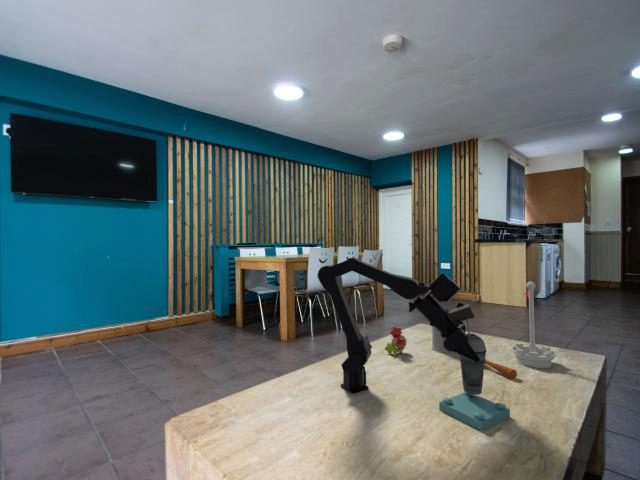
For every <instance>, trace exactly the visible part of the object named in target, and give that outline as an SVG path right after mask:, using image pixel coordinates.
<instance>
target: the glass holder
mask: <svg viewBox="0 0 640 480" xmlns="http://www.w3.org/2000/svg"><path fill="white" fill-rule="evenodd" d="M463 322H464V324H465V328H466V329H467V321H466V320H464V321H463ZM431 332H432V333H431V334H432V336H431V337H432V339H431V340H432V345H431V348H432V349H431V350H432V351H435V352H439V353H445V354H447V353H452V352H451V351H450V352H448V351H447V350H446V349H445V348H444V347H443V338H442V337H441V336H440V335H441V334H440V333H439V332H438V331H437V330H436V328H435V327H434V326H433V327H432V326H431Z"/></svg>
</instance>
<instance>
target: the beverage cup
mask: <svg viewBox="0 0 640 480" xmlns="http://www.w3.org/2000/svg"><path fill="white" fill-rule="evenodd" d="M469 320H470V319H467V320H466V329H467V333H466V334H467V335H468V343H469V345H470V346H471V347H472V349H473V350H474V351H475V353H476V354H477V356H478V357H479V358H480V361H478V362H476V361H473V360H471V359H469V358H467V357H465V356H462V355H460V354H458V356H459V359H460V360H459V361H460V370H461V378H462V387H463V392H467V393H469V394H474V395H478V396H479V395H481V394H482V391H483V382H484V370H485V364H484V359H486V356H487V347H486V344H485V341H484V340H483V339H482V337H480V336H479V335H478V334H475V333H471V330H470V321H469Z"/></svg>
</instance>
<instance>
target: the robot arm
mask: <svg viewBox="0 0 640 480" xmlns="http://www.w3.org/2000/svg"><path fill="white" fill-rule="evenodd" d="M350 272H354V273H356V274H358V275H361V276H363V277H365V278H368V279H370V280H372V281H374V282H377V283H378V284H381V285H384V286H386V287H387V288H389V289H390V290H391V291H393V292H394V293H395V294H397V295H398V296H400V297H402V298H404V299H405V300H414V299H415V298H416V299H415V300H414V301H408V307H409V308H408V312H409V313H412V312H414V310H415V309H416V310H417V311H418V312H419V314H421V315H422V316H423V317H424V319H426V320H427V322H428V323H429V326H431V328H432V327H433V326H434V327H435V328H436V330H437V331H438V332H439V333H440V334H441V335H440V336H441V337H442V338H443V347H444V348H445V349H446V350H447V351H448V353H452V352H453V353H455V354H458V355H459V354H460V355H462V356H465V357H467V358H469V359H471V360H473V361H476V362H478V361H480V358H479V357H478V356H477V354H476V353H475V351H474V350H473V349H472V347H471V346H470V345H469V343H468V335H467V334H468V333H466V332H467V327H466V328H465V323H464V321H467V319H468V320H472V319H475V318H476V315H475V313H474V311H473V310H472V308H471V305H470V304H468V303H464V302H462V301H459V302H457V303H456V302H455V303H456V304H455V306H456V307H455V308H453V309H452V310H449V309H447V308H446V307H443V306H442V305H441V304H440V303H443V302H444V303H448V302H449V301H450V300H451V299H452V298H453V297H454V296H456V295H457V294H458V293H459V292H460V291H461V290H462V288H461V287H460V286H459V285H458V284H457V283H456V282H455V281H454V280H453V279H452V278H450V277H449V276H447V275H446V274H445V273H444V272H441V273H440V274H439V275H438V276H437V277H436V278H435V279H434V280H433V281H432V282H431V283H426V282H419V281H418V280H417V279H416V278H413V277H409V276H404V275H399V274H396V273H395V274H394V273H391V272H389V271H387V270H384V269H382V268H379V267H378V266H374V265H372V264H370V263H367V262H364V261H363V260H360V259H359V258H357V257H351V258H350V257H349V258H348V259H346V260H344V261H341V262H339V263H336V264H330V265H323V266H321V267H320V269H319V270H318V272H317V279H318V280H319V283H320V284H321V286H322V288H323V289H324V290H325V291H326V292H327V294H328V295H329V297H330V299H331V301H332V304H333V307H334V309H335V312H336V315H337V318H338V320H339V322H340V325H341V328H342V331H343V332H344V336H345V341H346V352H347V357H346V358H345V359H344V361H343V362H342V363H341V368H342V371H343V372H342V373H343V375H342V377H343V381H342V383H341V384H340V387H341V388H342V389H345V390H346V391H348V392H349V393H351V394H355V393H358V392H362V391H365V390H368V389H370V388H369V387H370V386H368V385H367V371H366V366H365V365H366V364H367V362H368V361H369V359H370V358H371V355H372V348H373V345H372V344H371V342H370V340H369V336H368V335H367V334H366V335H363V334H362V333H361V332H360V331H359V328H358V325H357V323H356V321H355V317H354V315H353V313H352V311H351V310H352V309H351V307H350V305H349V303H348V300H347V298H346V295H345V291H344V289H343V287H344V286H343V277H342V276H343V275H346V274H348V273H350ZM423 295H424V296H423ZM439 302H440V303H439ZM461 325H462V326H461ZM450 351H451V352H450ZM460 355H459V356H460Z"/></svg>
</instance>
